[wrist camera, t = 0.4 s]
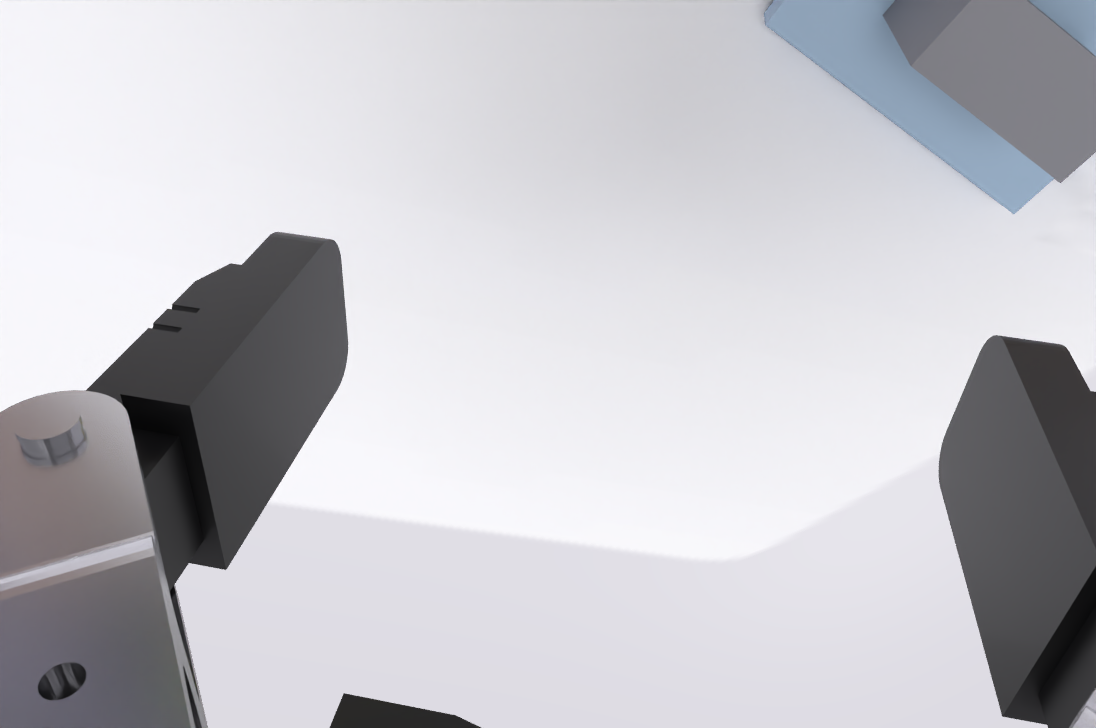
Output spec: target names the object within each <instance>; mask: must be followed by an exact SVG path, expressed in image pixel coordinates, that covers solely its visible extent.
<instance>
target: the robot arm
mask: <svg viewBox="0 0 1096 728" xmlns="http://www.w3.org/2000/svg"><path fill="white" fill-rule="evenodd" d="M347 355H348V335H347V323H346V312H345V300H344V288H343V276H342V264H341V255H340V251H339V248H338V245H337V244H336V242H335V241H334V240H331V239H325V238H318V237H311V236H303V235H296V234H289V233H282V232H275V233H272V234H271V235H270V236H269V237H268V238H267V239H266V240H265V241H264V242H263V243H262V244H261V245H260V246H259V247H258V248H257V250H256V251H255V252H254V253H253V254H252V255H251V256H250V257H249V258H248V259H247V260H246V261H245V262H244V263H243V264H242V265H237V264H229V265H227V266H225V267H223V268H221V269H219V270H217V271H215V272H213V273H211V274H209V275H207V276H205V277H203V278H201V279H199V280H197V281H195V282H194V283H193V284H192V285H191V286H190V287H189V288H188V289H187V290H186V291H185V292H184V293H183V294H182V295H181V296H180V297H179V298H178V299H177V300H176V301H175V302H174V303H173V304H172V309H167V310H166V311H165V312H164V313H163V314H162V315H161V316H160V317H159V318H158V319H157V320H156V321H155V322H154V323H153V328H152V329H151V328H148V329H147V330H146V331H145V332H144V333H143V334H142V335H141V336H140V337H139V338H138V339H137V340H136V341H135V342H134V343H133V344H132V345H131V346H130V347H129V348H128V349H127V350H126V351H125V352H124V353H123V354H122V355H121V356H120V357H119V358H118V359H117V360H116V361H115V362H114V363H113V364H112V365H111V366H110V367H109V368H108V369H107V370H106V371H105V372H104V373H103V374H102V375H101V376H100V377H99V378H98V379H97V380H96V381H95V382H94V383H93V384H92V385H91V386H90V387H89V388H88V389H87V390H86V391H76V390H72V391H60V392H54V393H48V394H44V395H40V396H36V397H33V398H30V399H27V400H24V401H22V402H19V403H17V404H15V405H13V406H11V407H9V408H7V409H5V410H4V411H2V412H0V728H208V726H207V721H206V717H205V713H204V708H203V704H202V699H201V695H200V691H199V686H198V682H197V677H196V673H195V668H194V664H193V660H192V655H191V651H190V646H189V642H188V637H187V633H186V629H185V624H184V620H183V616H182V611H181V607H180V602H179V598H178V594H177V590H176V587H175V583H176V581H177V580H178V578H179V577H180V575H181V574H182V572H183V571H184V569H185V568H186V566H187V565H188V563H192V564H198V565H203V566H208V567H214V568H219V569H225V570H226V569H227V568H228V566H229V564H230V563H231V561H232V560H233V558H234V556H235V555H236V553H237V551H238V550H239V548H240V547H241V545H242V543H243V542H244V540H245V538H246V537H247V535H248V533H249V532H250V530H251V529H252V527H253V526H254V524H255V522H256V521H257V519H258V517H259V516H260V514H261V513H262V511H263V509H264V508H265V506H266V504H267V503H268V501H269V500H270V498H271V496H272V495H273V493H274V492H275V490H276V488H277V487H278V485H279V483H280V482H281V480H282V479H283V477H284V475H285V474H286V472H287V470H288V469H289V467H290V466H291V464H292V462H293V461H294V459H295V457H296V456H297V454H298V453H299V451H300V449H301V448H302V446H303V444H304V443H305V441H306V440H307V438H308V436H309V435H310V433H311V432H312V430H313V428H314V427H315V425H316V423H317V422H318V420H319V419H320V417H321V415H322V414H323V412H324V410H325V409H326V407H327V406H328V404H329V402H330V401H331V399H332V397H333V396H334V394H335V393H336V391H337V389H338V387H339V386H340V383H341V381H342V378H343V375H344V371H345V367H346V362H347ZM939 482H940V488H941V491H942V495H943V499H944V503H945V506H946V510H947V514H948V517H949V521H950V525H951V528H952V532H953V536H954V539H955V543H956V547H957V551H958V554H959V558H960V562H961V565H962V569H963V573H964V577H965V580H966V584H967V588H968V591H969V595H970V599H971V602H972V606H973V610H974V613H975V617H976V621H977V624H978V628H979V632H980V636H981V639H982V643H983V647H984V650H985V654H986V658H987V661H988V665H989V669H990V673H991V676H992V680H993V684H994V687H995V691H996V695H997V698H998V702H999V705H1000V709H1001V713H1002V716H1003V717H1009V718H1014V719H1019V720H1025V721H1030V722H1036V723H1041V724H1047V725H1048V728H1096V392H1092V391H1090V390H1089V388H1088V386H1087V384H1086V382H1085V380H1084V378H1083V377H1082V375H1081V373H1080V371H1079V369H1078V367H1077V365H1076V364H1075V362H1074V360H1073V358H1072V356H1071V354H1070V352H1069V351H1068V349H1067V348H1066V347H1065V346H1063V345H1060V344H1054V343H1047V342H1040V341H1033V340H1026V339H1019V338H1012V337H1005V336H998V335H996V336H992V337H991V338H989V339H988V340H987V341H986V343H985V344H984V346H983V347H982V349H981V351H980V353H979V356H978V358H977V360H976V363H975V365H974V367H973V370H972V372H971V375H970V377H969V379H968V382H967V384H966V386H965V389H964V391H963V393H962V396H961V398H960V401H959V403H958V405H957V408H956V410H955V412H954V415H953V417H952V420H951V422H950V424H949V427H948V429H947V431H946V434H945V437H944V440H943V443H942V447H941V452H940V459H939ZM330 728H481V727H479V726H476V725H474V724H472V723H470V722H468V721H466V720H464V719H462V718H460V717H458V716H456V715H450V714H445V713H441V712H436V711H430V710H425V709H420V708H415V707H410V706H405V705H400V704H395V703H389V702H385V701H380V700H374V699H370V698H365V697H360V696H354V695H349V694H343V697H342V699H341V702H340V704H339V706H338V709H337V711H336V714H335V716H334V719H333V721H332V723H331V726H330Z"/></svg>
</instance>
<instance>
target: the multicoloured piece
mask: <svg viewBox="0 0 1096 728" xmlns="http://www.w3.org/2000/svg"><path fill="white" fill-rule="evenodd" d="M764 17H765V25H766V26H767V27H769V28H770V29H771V30H773V31H774V32H775V33H776V34H778V35H779V36H780V37H782V38H783V39H784V40H786V41H787V42H788V43H790V44H791V45H792V46H794V47H795V48H796V49H797V50H799V51H800V52H801V53H803V54H804V55H805V56H807V57H808V58H809V59H811V60H812V61H813V62H815V63H816V64H817V65H819V66H820V67H821V68H822V69H824V70H825V71H826V72H828V73H829V74H830V75H832V76H833V77H834V78H836V79H837V80H838V81H840V82H841V83H842V84H843V85H845V86H846V87H847V88H849V89H850V90H851V91H853V92H854V93H855V94H857V95H858V96H859V97H861V98H862V99H863V100H864V101H866V102H867V103H868V104H870V105H871V106H872V107H874V108H875V109H876V110H878V111H879V112H880V113H882V114H883V115H884V116H885V117H887V118H888V119H889V120H891V121H892V122H893V123H895V124H896V125H897V126H899V127H900V128H901V129H903V130H904V131H905V132H906V133H908V134H909V135H910V136H912V137H913V138H914V139H916V140H917V141H918V142H920V143H921V144H922V145H924V146H925V147H926V148H927V149H929V150H930V151H931V152H933V153H934V154H935V155H937V156H938V157H939V158H941V159H942V160H943V161H945V162H946V163H947V164H948V165H950V166H951V167H952V168H954V169H955V170H956V171H958V172H959V173H960V174H962V175H963V176H964V177H966V178H967V179H968V180H969V181H971V182H972V183H973V184H975V185H976V186H977V187H979V188H980V189H981V190H983V191H984V192H985V193H987V194H988V195H989V196H990V197H992V198H993V199H994V200H996V201H997V202H998V203H1000V204H1001V205H1002V206H1004V207H1005V208H1006V209H1008V210H1009V211H1010V212H1011V213H1013V214H1015V213H1016V212H1017V211H1018V210H1019V209H1021V208H1022V207H1023V206H1024V205H1025V204H1026V203H1027V202H1028V201H1030V200H1031V199H1032V198H1033V197H1034V196H1035V195H1036V194H1037V193H1039V192H1040V191H1041V190H1042V189H1043V188H1044V187H1045V186H1046V185H1047V184H1049V183H1050V182H1051V181H1052V180H1053V179H1056V180H1057V181H1058V182H1060V183H1061V182H1062V181H1063V180H1065V179H1066V178H1067V177H1068V176H1069V175H1070V174H1071V173H1072V172H1074V171H1075V170H1076V169H1077V168H1078V167H1079V166H1080V165H1082V164H1083V163H1084V162H1085V161H1086V160H1087V159H1088V158H1089V157H1091V156H1092V155H1093V154H1094V153H1095V152H1096V0H774V1H773V2H772V4H771V5H770V6H769V8H768V9H767V10H766V11H765V13H764Z"/></svg>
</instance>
